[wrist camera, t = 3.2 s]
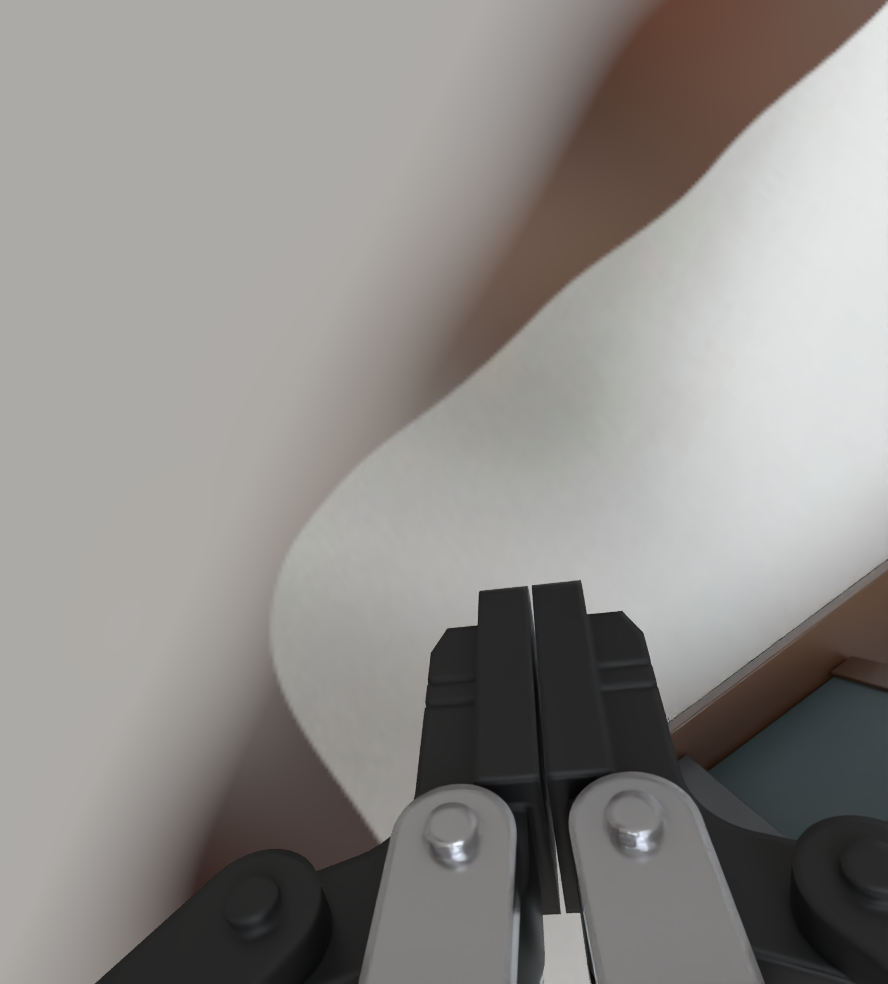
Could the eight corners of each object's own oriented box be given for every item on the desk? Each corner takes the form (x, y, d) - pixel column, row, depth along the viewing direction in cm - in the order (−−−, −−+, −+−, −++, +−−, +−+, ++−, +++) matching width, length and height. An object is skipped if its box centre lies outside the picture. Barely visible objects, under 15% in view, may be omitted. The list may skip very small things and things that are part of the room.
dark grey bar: (659, 773, 27) (816, 937, 15) (839, 638, 27) (1132, 696, 16) (701, 831, 27) (894, 1043, 15) (882, 694, 27) (1212, 796, 15)
